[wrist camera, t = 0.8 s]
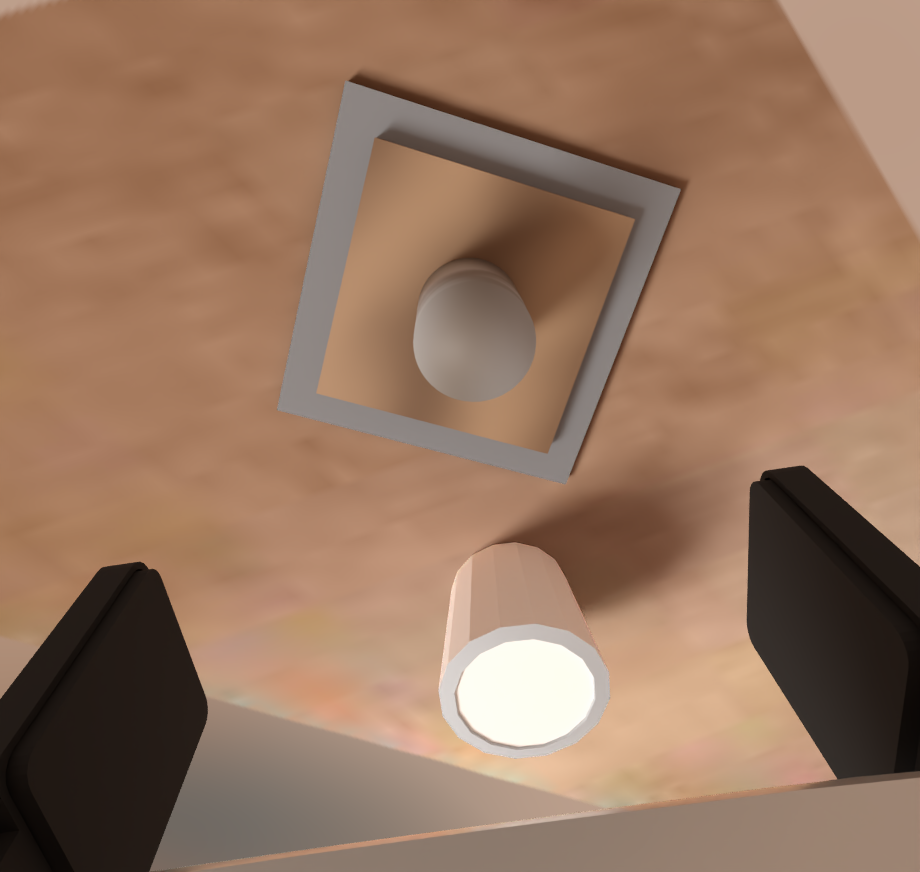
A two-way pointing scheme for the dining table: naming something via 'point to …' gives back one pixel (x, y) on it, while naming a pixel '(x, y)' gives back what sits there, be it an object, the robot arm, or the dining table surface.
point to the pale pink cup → (519, 656)
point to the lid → (468, 297)
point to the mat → (500, 156)
